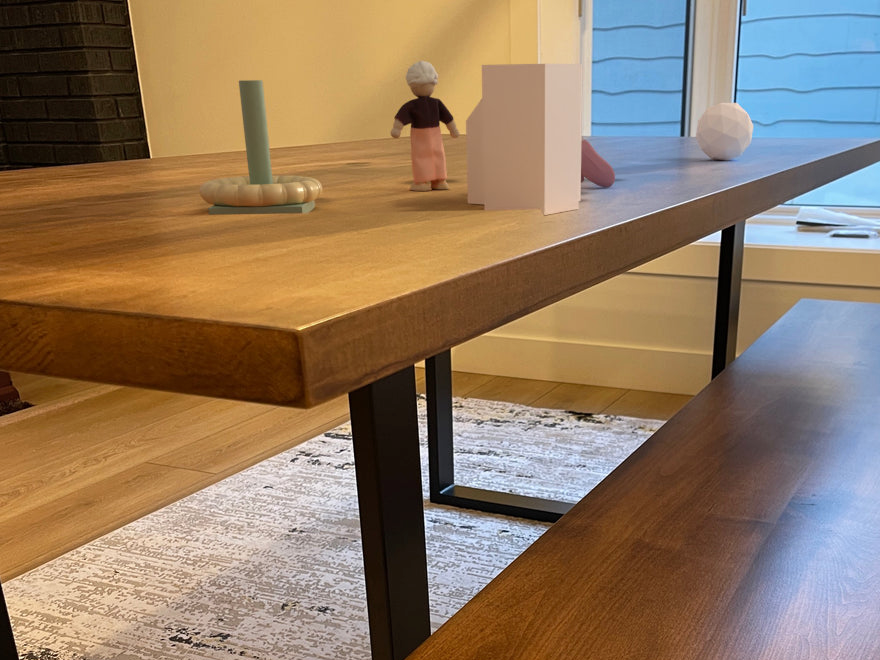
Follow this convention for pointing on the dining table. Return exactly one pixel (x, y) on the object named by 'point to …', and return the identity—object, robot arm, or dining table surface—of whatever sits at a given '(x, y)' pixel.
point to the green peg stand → (257, 152)
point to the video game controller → (595, 166)
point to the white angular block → (526, 138)
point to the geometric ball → (724, 131)
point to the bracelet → (260, 191)
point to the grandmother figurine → (425, 128)
